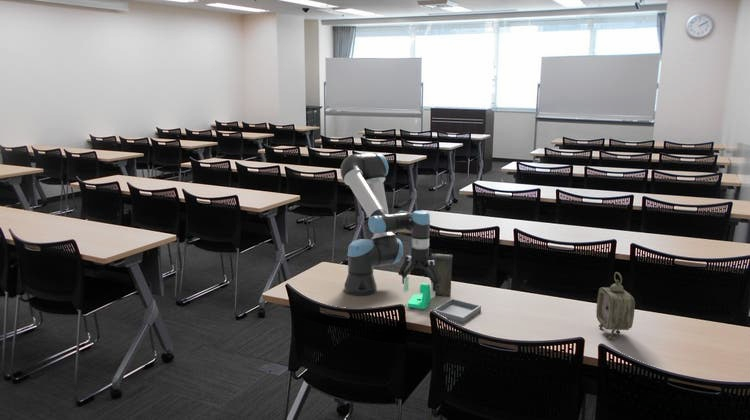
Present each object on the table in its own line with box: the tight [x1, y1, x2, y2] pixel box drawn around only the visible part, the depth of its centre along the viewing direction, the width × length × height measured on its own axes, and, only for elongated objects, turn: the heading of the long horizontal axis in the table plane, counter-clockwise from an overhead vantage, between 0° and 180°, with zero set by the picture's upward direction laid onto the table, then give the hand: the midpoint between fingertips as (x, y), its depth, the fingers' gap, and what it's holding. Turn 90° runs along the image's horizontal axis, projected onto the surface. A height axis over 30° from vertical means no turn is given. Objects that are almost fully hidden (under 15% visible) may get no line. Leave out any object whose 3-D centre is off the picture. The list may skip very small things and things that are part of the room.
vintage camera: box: [430, 252, 453, 297], centre depth 262 cm, size 10×15×20 cm, turn 174°
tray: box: [432, 298, 482, 324], centre depth 238 cm, size 14×16×2 cm
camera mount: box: [407, 282, 432, 310], centre depth 245 cm, size 12×8×10 cm, turn 161°
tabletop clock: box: [595, 271, 636, 340], centre depth 217 cm, size 14×9×25 cm, turn 178°
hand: (419, 294), depth 245 cm, fingers open, 13 cm apart
